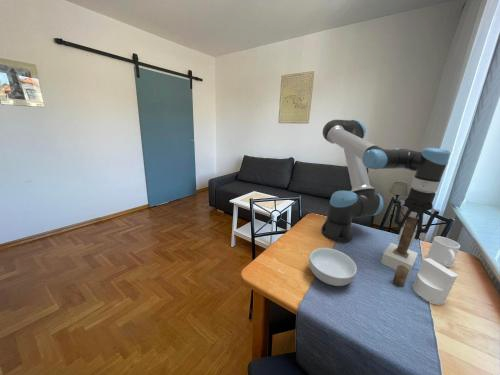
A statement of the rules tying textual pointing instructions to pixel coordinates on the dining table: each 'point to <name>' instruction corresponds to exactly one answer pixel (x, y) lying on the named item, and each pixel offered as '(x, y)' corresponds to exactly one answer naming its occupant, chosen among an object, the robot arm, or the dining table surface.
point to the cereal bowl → (332, 266)
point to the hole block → (398, 258)
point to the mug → (443, 251)
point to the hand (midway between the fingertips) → (404, 242)
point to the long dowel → (407, 235)
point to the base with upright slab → (434, 281)
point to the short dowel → (400, 276)
